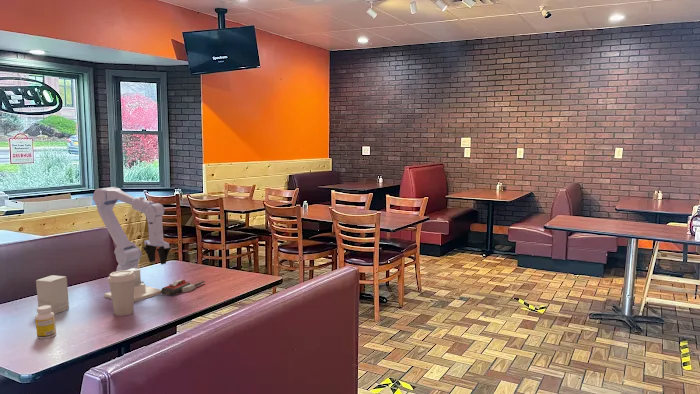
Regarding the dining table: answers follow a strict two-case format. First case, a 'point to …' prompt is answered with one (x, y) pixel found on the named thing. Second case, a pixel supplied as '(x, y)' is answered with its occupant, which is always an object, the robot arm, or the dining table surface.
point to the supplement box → (53, 293)
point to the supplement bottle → (45, 322)
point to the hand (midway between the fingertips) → (157, 262)
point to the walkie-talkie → (179, 287)
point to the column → (137, 274)
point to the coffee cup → (122, 291)
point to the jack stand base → (141, 292)
